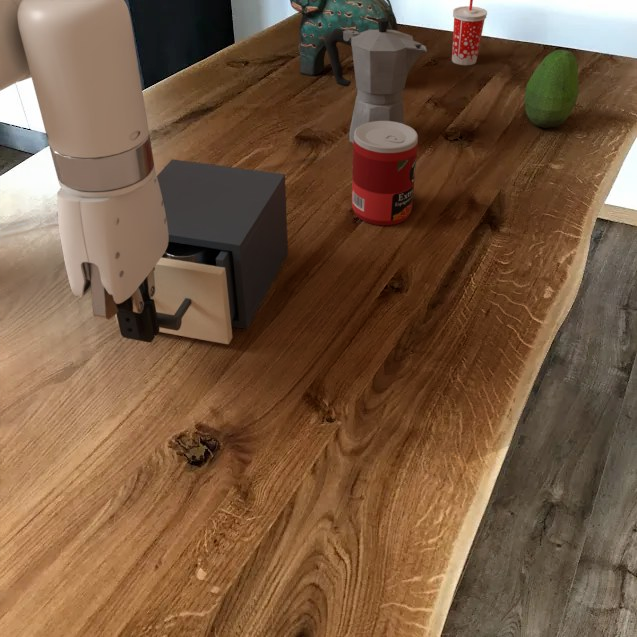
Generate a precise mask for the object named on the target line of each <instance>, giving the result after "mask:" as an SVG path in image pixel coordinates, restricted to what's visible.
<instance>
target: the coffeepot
mask: <svg viewBox="0 0 637 637" xmlns="http://www.w3.org/2000/svg"><path fill="white" fill-rule="evenodd" d="M388 22H389V19H387V18H379V19H378V26H379V30H367V31H364V32H361V33H359V32H357V31H353V30H343V29H338V28H337V29H334V30H333V31H332V32H331V34H330V35H329V36H328V37H327V38H326V40H325V46H326V49H327V50H326V52H327V56H328V59H329V62H330V65H331V69H332V73H333V76H334V79H335V82H336V84H337V85H339V86H341V87H349V86H350V84H351V80H350V79H349V80H348V79H346V78H344V76H343V66H342V63H341V61H340V54H339V48H338V46H337V43H342V44H344V45H347V46H350V47H351V52H352V60H353V69H354V71H353V72H354V78H355V87H356V88H355V89H357V92H356V93H357V94H356V97H355V101H354V106H353V112H352V116H351V123H350V127H349V139H348V140H349V143H351V144H352V145H353V143H354V132H355V130H356V128H358V127H359V126H360V125H362V124H365V123H369V122H374V121H392V122H398V123H402V124H405V118H404V116H405V114H404V105H403V104H404V103H403V90H404V89H405V88H406V83H407V79H408V74H409V72H411V70H412V69H413V67H414V65H415V64H416V63H417V61H418V60H419V58H420V57H421V56H422V55H423V54H426V53H427V51H428V49H427V47H426V46H425V45H423V43H421V42H419V41H415V40H414V38H413V37H414V36H413V35H410V34H408V33H405V32H401V31H399V30H398V31H396V30H387V26H388Z"/></svg>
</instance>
